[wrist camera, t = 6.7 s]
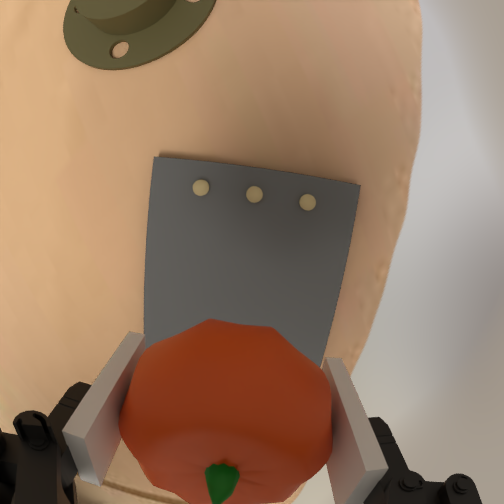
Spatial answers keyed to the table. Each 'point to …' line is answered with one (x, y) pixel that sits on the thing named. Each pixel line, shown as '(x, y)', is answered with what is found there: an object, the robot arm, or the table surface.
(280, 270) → the mat
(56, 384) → the table surface
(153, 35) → the flange
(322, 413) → the pumpkin
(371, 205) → the table surface
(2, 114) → the table surface
